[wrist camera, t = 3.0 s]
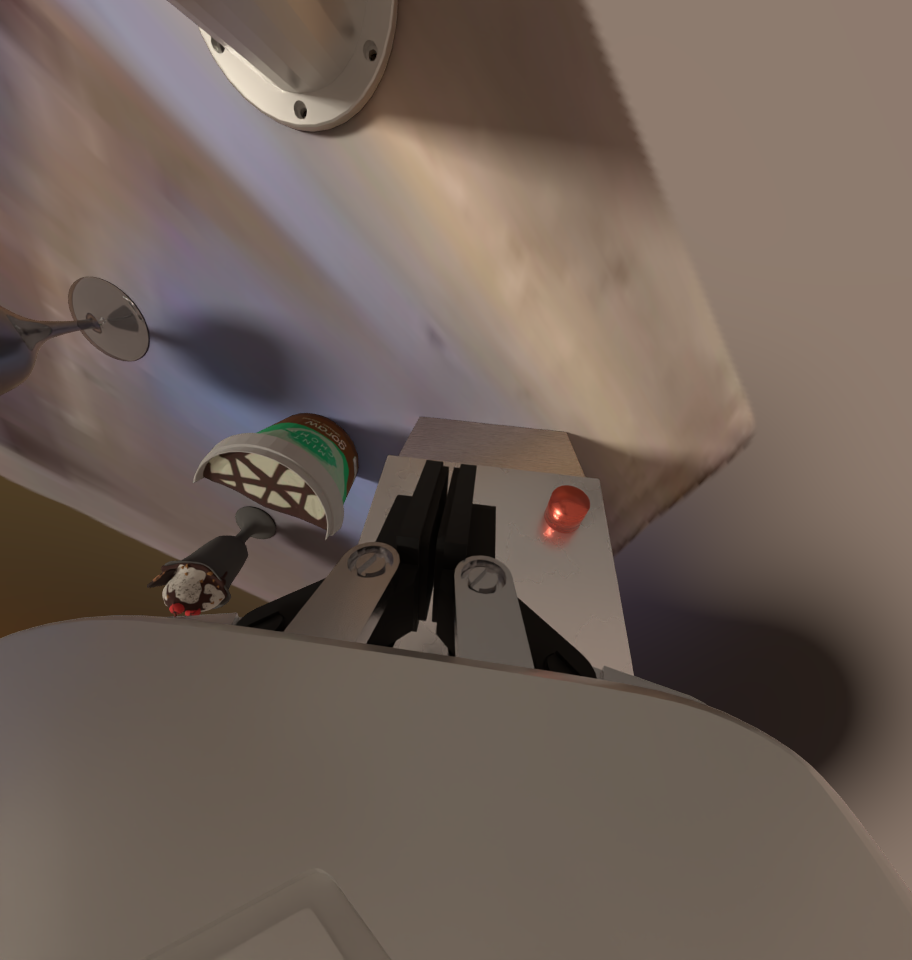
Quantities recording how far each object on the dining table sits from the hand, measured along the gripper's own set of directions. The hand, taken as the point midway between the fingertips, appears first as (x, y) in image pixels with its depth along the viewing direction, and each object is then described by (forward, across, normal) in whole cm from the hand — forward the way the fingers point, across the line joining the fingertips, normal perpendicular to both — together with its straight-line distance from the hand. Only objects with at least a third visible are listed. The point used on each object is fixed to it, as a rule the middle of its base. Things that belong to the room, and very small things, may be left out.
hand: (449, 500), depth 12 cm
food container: (+22, +15, +9) cm, 28 cm away
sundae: (+22, +25, +22) cm, 40 cm away
